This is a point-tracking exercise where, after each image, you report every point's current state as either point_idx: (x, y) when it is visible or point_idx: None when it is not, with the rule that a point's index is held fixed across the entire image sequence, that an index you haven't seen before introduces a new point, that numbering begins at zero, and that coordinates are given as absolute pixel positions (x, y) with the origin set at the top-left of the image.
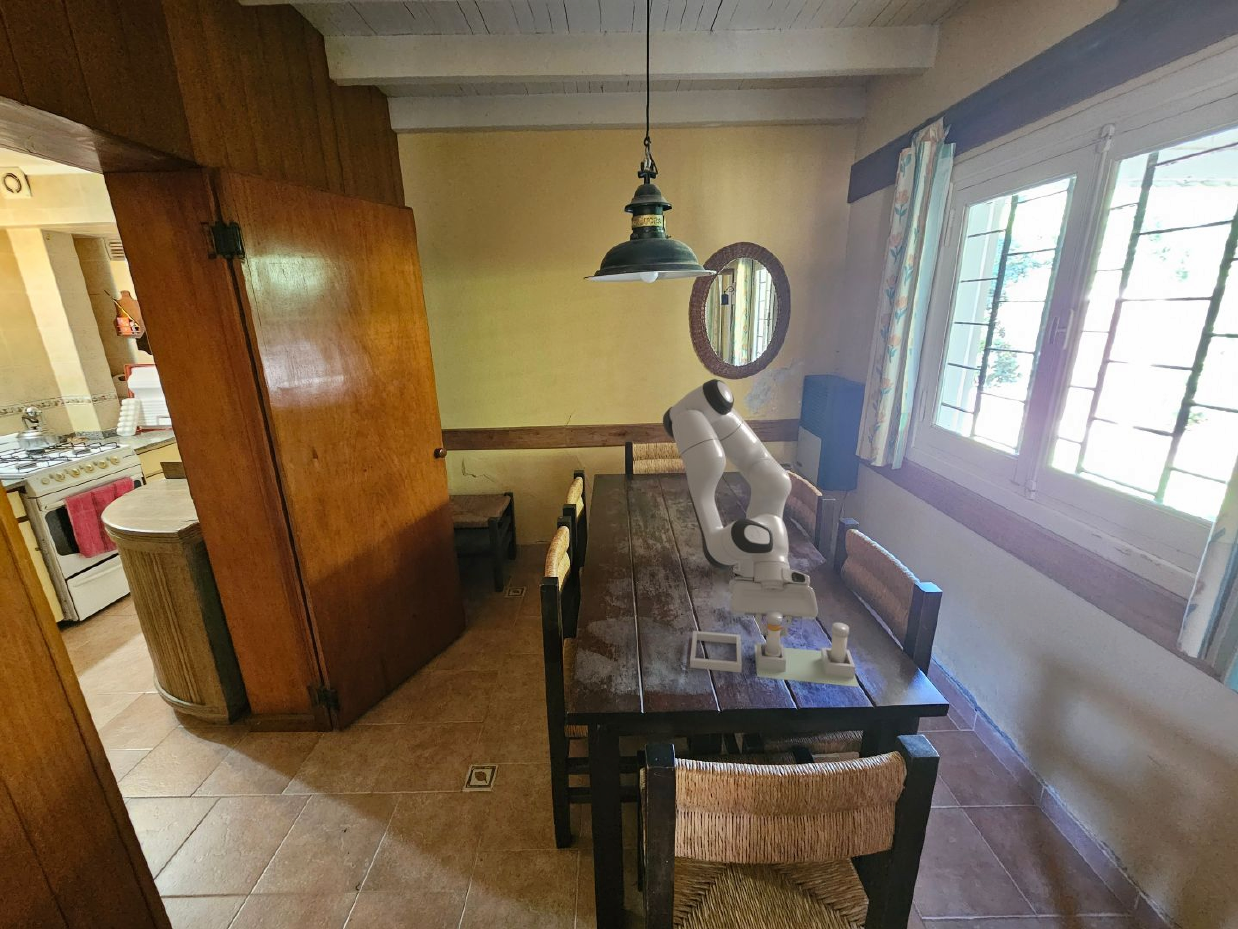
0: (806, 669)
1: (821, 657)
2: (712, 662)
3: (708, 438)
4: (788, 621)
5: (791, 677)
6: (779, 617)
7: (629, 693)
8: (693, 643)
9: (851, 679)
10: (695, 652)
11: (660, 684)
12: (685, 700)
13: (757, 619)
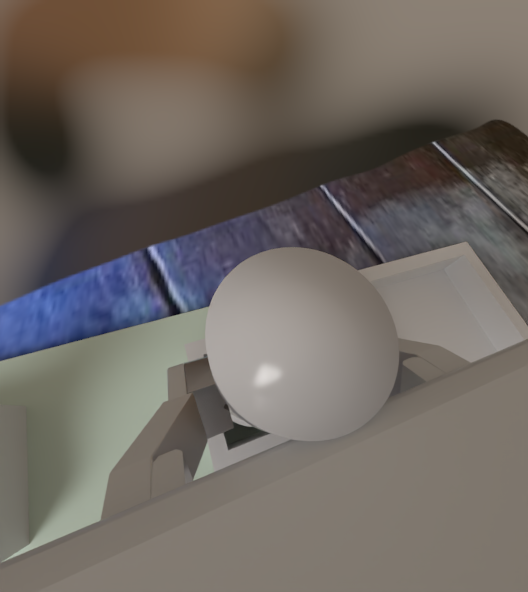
0: (108, 407)
1: (16, 529)
2: (412, 256)
3: None
4: (149, 451)
5: (165, 332)
6: (237, 309)
7: (481, 167)
8: (519, 320)
9: None
10: (481, 302)
11: (457, 204)
12: (387, 182)
13: (422, 346)
